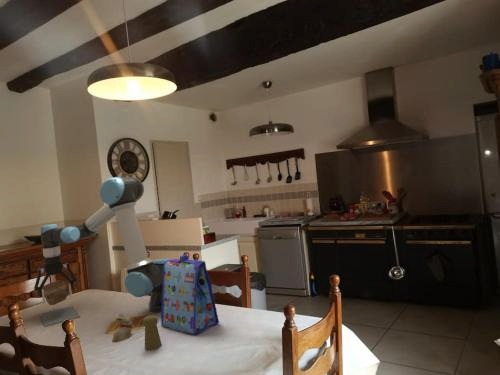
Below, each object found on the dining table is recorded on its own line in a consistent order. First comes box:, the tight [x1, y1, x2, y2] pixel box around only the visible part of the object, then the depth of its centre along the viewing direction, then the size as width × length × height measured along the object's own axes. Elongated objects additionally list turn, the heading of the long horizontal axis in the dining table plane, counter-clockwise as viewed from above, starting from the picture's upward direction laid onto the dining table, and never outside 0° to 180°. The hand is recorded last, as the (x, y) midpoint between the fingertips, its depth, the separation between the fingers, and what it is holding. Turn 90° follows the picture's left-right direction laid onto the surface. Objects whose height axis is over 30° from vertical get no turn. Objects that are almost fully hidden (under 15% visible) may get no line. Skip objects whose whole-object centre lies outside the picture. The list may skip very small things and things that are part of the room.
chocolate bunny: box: [111, 312, 133, 343], centre depth 144 cm, size 6×8×10 cm
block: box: [42, 280, 69, 306], centre depth 182 cm, size 11×8×20 cm
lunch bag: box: [160, 254, 220, 336], centre depth 149 cm, size 22×14×29 cm, turn 49°
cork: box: [142, 314, 163, 351], centre depth 132 cm, size 6×6×11 cm
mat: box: [40, 305, 81, 328], centre depth 181 cm, size 24×15×1 cm, turn 34°
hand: (57, 299), depth 181 cm, fingers closed on block, 11 cm apart
